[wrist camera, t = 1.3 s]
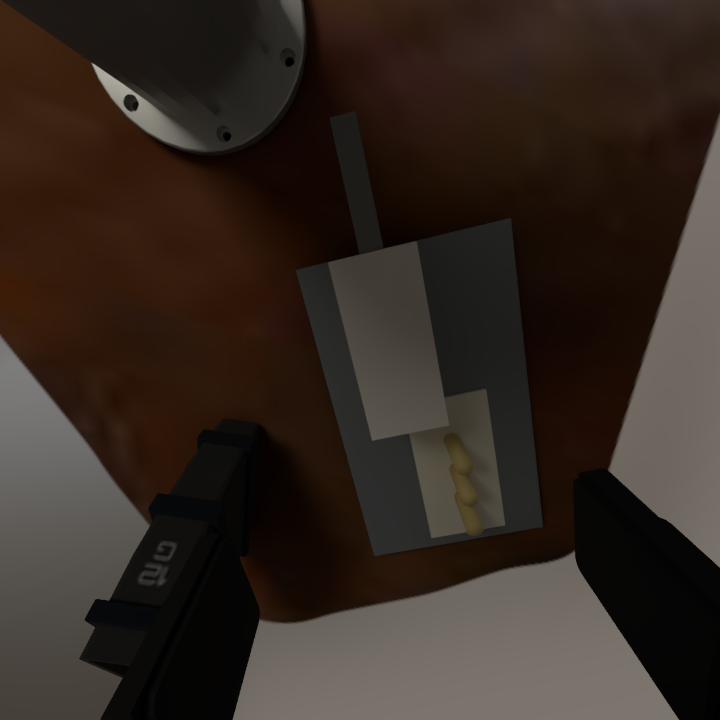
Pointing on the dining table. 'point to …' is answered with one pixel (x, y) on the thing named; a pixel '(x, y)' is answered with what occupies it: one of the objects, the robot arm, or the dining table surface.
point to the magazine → (177, 540)
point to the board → (462, 398)
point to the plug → (384, 310)
